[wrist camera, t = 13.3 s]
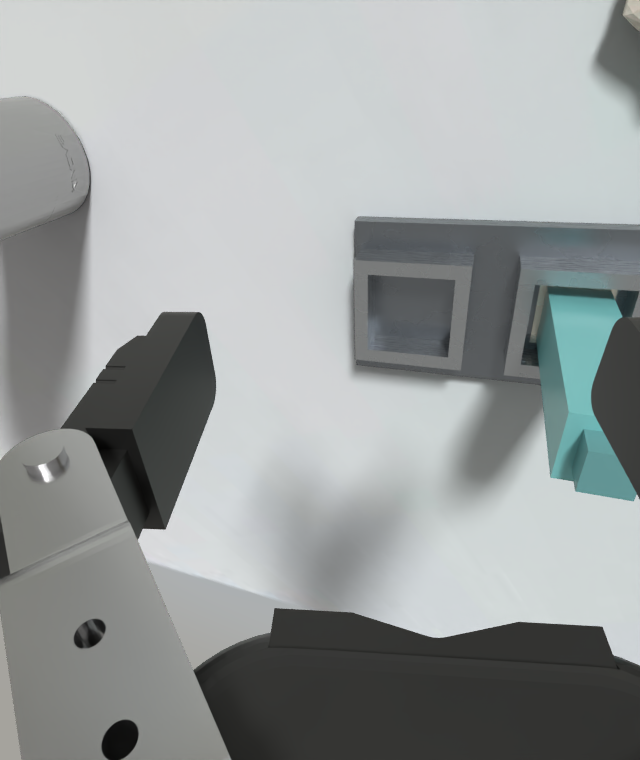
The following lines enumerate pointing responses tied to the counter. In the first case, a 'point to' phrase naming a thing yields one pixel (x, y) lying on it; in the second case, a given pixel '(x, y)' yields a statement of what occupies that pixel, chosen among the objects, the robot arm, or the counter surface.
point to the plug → (577, 389)
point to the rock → (632, 13)
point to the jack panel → (477, 289)
